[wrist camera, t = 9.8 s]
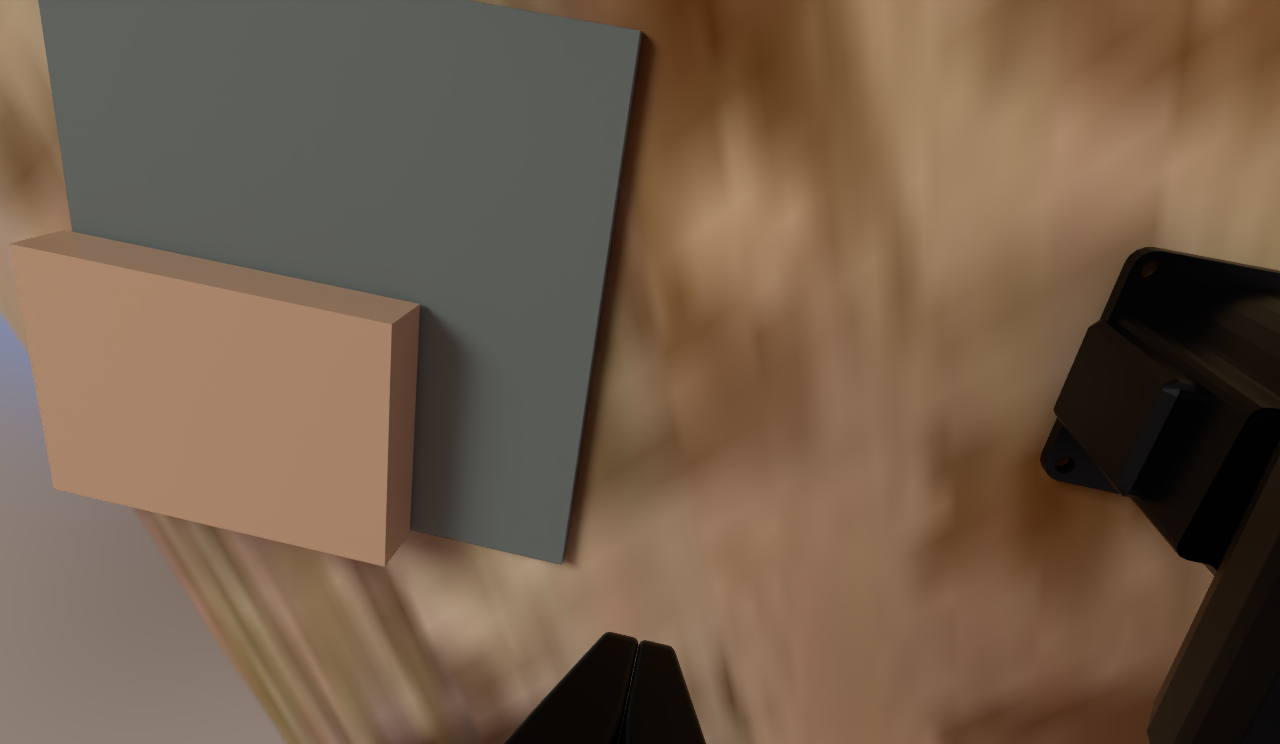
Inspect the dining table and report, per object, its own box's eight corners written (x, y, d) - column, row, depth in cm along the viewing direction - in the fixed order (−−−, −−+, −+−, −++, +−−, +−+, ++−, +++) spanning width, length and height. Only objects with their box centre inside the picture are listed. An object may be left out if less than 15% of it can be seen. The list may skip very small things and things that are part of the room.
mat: (642, 31, 18) (640, 31, 18) (564, 557, 25) (561, 564, 24) (40, -75, 20) (26, -78, 19) (115, 454, 26) (106, 459, 26)
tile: (391, 324, 20) (9, 243, 21) (384, 566, 23) (54, 488, 24) (422, 302, 22) (69, 228, 22) (411, 530, 25) (103, 458, 26)
